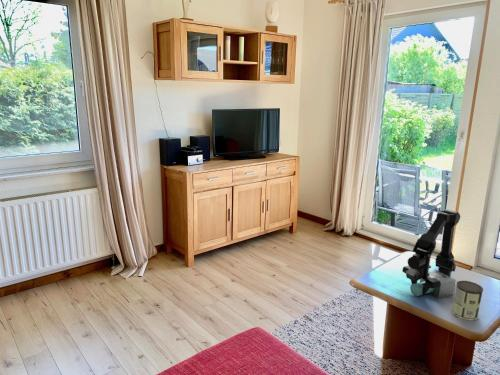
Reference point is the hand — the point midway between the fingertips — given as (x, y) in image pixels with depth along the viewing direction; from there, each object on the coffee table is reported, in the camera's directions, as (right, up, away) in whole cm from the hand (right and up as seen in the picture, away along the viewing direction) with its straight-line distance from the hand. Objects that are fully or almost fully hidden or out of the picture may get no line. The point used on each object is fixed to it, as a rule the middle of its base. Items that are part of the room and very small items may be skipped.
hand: (418, 291), depth 182 cm
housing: (+11, -1, +5) cm, 12 cm away
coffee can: (+14, -6, -15) cm, 21 cm away
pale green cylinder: (+3, -1, +2) cm, 4 cm away
